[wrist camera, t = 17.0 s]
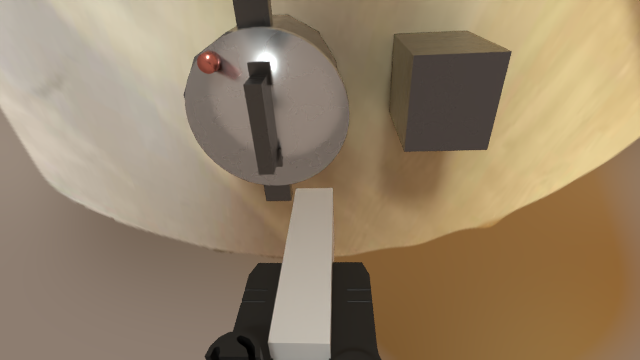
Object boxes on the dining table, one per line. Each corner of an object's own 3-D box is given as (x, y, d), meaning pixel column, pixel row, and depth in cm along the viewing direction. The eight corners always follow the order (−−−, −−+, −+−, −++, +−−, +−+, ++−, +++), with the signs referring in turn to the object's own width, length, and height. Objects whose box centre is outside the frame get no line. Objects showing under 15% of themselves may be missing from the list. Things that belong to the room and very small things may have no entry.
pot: (199, -31, 30) (148, -32, 22) (333, -39, 29) (332, -43, 21) (239, 163, 41) (215, 211, 33) (338, 161, 40) (338, 209, 32)
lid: (168, 30, 24) (141, 40, 21) (348, 21, 23) (350, 30, 20) (209, 181, 31) (194, 206, 28) (349, 178, 30) (350, 204, 27)
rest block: (394, 34, 32) (413, 55, 24) (467, 30, 32) (511, 51, 24) (389, 111, 37) (404, 151, 29) (453, 109, 36) (487, 149, 28)
